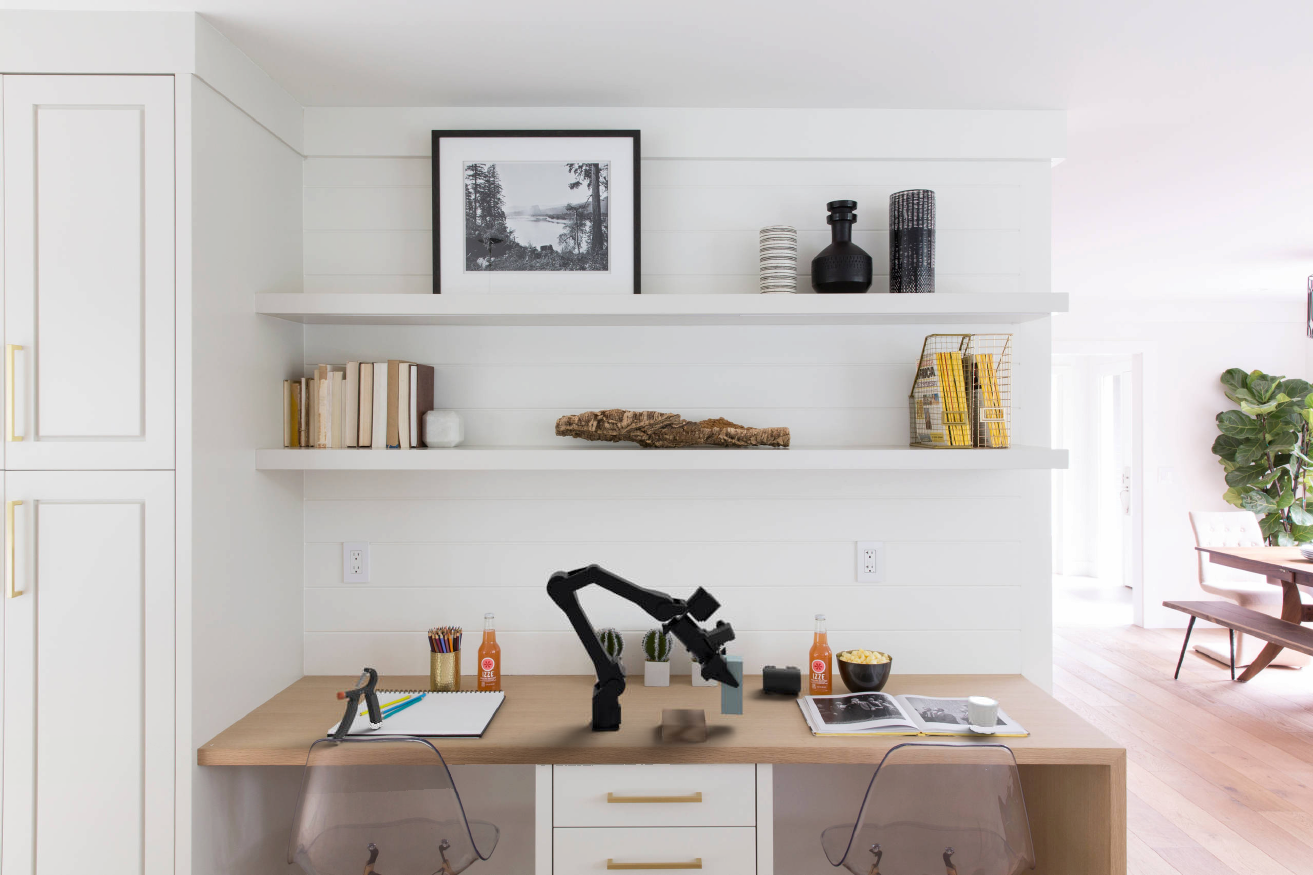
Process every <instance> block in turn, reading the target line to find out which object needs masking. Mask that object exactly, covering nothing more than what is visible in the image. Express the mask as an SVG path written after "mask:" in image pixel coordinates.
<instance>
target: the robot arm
mask: <svg viewBox="0 0 1313 875" xmlns="http://www.w3.org/2000/svg"><path fill="white" fill-rule="evenodd" d="M592 584H594V585H597V586H598V587H600V588H602V589H604V590H607V591H608V592H610V593H613V594H615V595H617V596H619V597H621V598H624V599H626V600H627V601H629V602H631V603H634V604H636V605H637V606H638V607H639V608H641V609H642V610H643V611H644V612H645V613H647V615H649V616H651V617H652V618H654V619H655V620H657V621H658V622H661V627H662V628H661V629H662V632H661V633H662V637H666V636H667V635H668V634H669V633H670V634H672V635H673V636H674V637H675V638H676V639H677V640H678V641H679V642H680V643H681V644H682V645H683V647H685V651H686V652H687V653H691V655H693V656H694V657H695V659H697V663H698V664H699V665H700V677H701V678H703V680H704V681H705V682H709V681H710V680H713V681H716V682H718V683H720V684H721V683H724V684H726V685H729V686H732V687H734V688H737V687H738V686H739V683H738V682H737V680H736V679H735V678H734V676H733V675H732V673H731V672H730V670H729V669H728V668H727V658H724V657H723V656H722V655H727V647H726V646H725V644H727V642H732V641H734V640H735V639H736V634H735V632H734V628H732V625H731V623H730V622H726V621H724V620H723V619H719V620H716V621H715V627H713V628H712V630H709V631H708V630H707V629H706V628H704V627H702V628H701V627H700V626H699V625H698V624H697V622H698V623H703V622H705V623H706V622H707V621H708V620H709V619H710V618H711V617H712V616H713V615H714V613H716V612H717V611H718V610H719V609H720V608H721V606H722V604H721V603H720V601H718V600H717V599H716V598H715V596H714V595H712V593H710V592H709V591H707V590H706V589H705V588H704V587H703V586H701V585H700V586H698V587H697V588H696V590H695V591H694V593H693V594H692V595H691V596H689V597H688V599H684V598H683V599H682V598H675V597H672V596H671V595H670V594H668V593H666V592H663V591H660V590H657V589H656V590H655V589H652V588H651V589H650V588H645V587H642V586H640V585H638V584H636V583H634V582H632V581H629V580H627V579H625V578H623V577H621V575H617V574H615V573H613V572H611V571H609V570H607V569H606V568H603V567H601V566H600V565H599V564H597V563H591V564H588V565H587V566H583V567H580V568H576V569H573V570H569V571H563V570H558V571H555V572H553V573H552V574H551V576H550V577H549V578H548V581H547V584H546V588H545V589H546V593H547V595H548V597H550V599H551V600H552V601H553V602H554V604H555V605H556V606H557V607H558V608H559V609H560V610H561V611H563V613H564V614H565V615H566V617H567V619H568V620H569V623H570V624H571V626H572V628H573V629H574V631H575V633H576V635H577V636H578V638H579V640H580V642H581V643H582V645H583V647H584V649H585V651H586V653H587V654H588V657H589V658H590V660H591V662H592V664H593V665H594V668H595V673H596V675H597V676H596V677H597V679H598V681H597V682H596V683H595V684H593V688H592V689H593V690H592V698H591V720H590V721H591V722H590V723H591V731H593V732H594V731H595V732H596V731H597V732H598V731H599V732H600V731H613V730H614V731H617V730H620V725H621V724H622V705H621V703H619V702H620V701H619V697H620V696H621V695H623V693H624V692H625V690H626V686H627V685H626V684H627V683H626V678H627V672H626V671H627V670H626V667H625V666H623V664H622V663H621V659H620V657H619V655H616V656H614V657H612V656H611V655H610V653H608V651H607V650H606V648H605V646H604V644H603V642H602V641H601V639H600V637H599V635H598V634H597V632H596V630H595V628H594V626H593V625H592V623H591V621H590V619H589V617H588V616H587V613H586V612H585V610H584V609H583V607H582V605H581V603H580V600H579V597H578V593H577V591H578V590H580V589H583V588H585V587H588V586H589V585H592ZM688 614H689V615H688ZM690 616H691V617H690ZM692 618H693V619H694V620H695V621H696V622H695V621H694V620H693V619H692ZM721 646H722V649H720V647H721ZM723 646H724V647H723Z"/></svg>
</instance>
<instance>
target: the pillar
mask: <svg viewBox="0 0 1313 875" xmlns="http://www.w3.org/2000/svg"><path fill="white" fill-rule="evenodd" d="M722 656H723V657H724V658H727V668H728V669H729V670H730V672H731V673H732V675H733V676H734V678H735V679H736V680H737V682H738V683H739V686H738V687H737V688H734V687H732V686H729V685H726V684H724V683H721V682H720V711H721V712H720V714H721V715H740V716H742V715H744V714H743V710H744V706H743V705H744V701H743V700H744V697H743V696H744V694H743V692H744V689H743V688H744V686H743V685H744V659H743V655H741V654H740V655H739V654H734V655H733V654H726V655H722Z"/></svg>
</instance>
